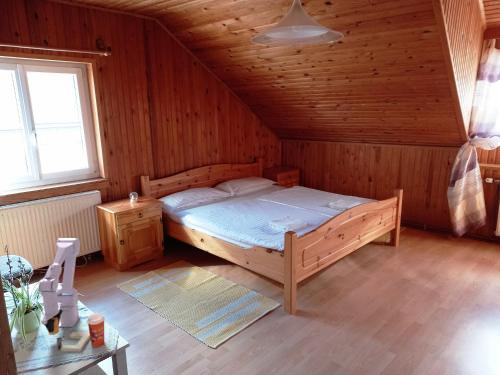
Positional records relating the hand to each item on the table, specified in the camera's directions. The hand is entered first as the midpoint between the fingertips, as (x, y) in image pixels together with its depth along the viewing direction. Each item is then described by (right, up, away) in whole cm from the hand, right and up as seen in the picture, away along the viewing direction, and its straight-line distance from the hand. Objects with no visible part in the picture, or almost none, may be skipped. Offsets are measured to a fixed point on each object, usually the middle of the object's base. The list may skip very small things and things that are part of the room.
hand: (53, 328), depth 172 cm
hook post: (+5, -8, -4) cm, 10 cm away
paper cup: (+21, -7, 0) cm, 22 cm away
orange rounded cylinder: (0, -2, 0) cm, 2 cm away
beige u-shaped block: (+11, -7, 0) cm, 13 cm away
